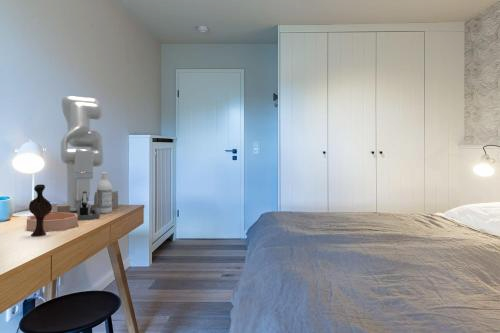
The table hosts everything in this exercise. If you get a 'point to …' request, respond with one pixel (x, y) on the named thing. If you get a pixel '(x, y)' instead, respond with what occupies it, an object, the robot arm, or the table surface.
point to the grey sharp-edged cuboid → (80, 207)
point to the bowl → (54, 221)
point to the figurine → (39, 210)
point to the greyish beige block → (63, 208)
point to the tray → (86, 217)
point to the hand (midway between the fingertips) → (83, 215)
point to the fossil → (114, 200)
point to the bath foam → (104, 195)
